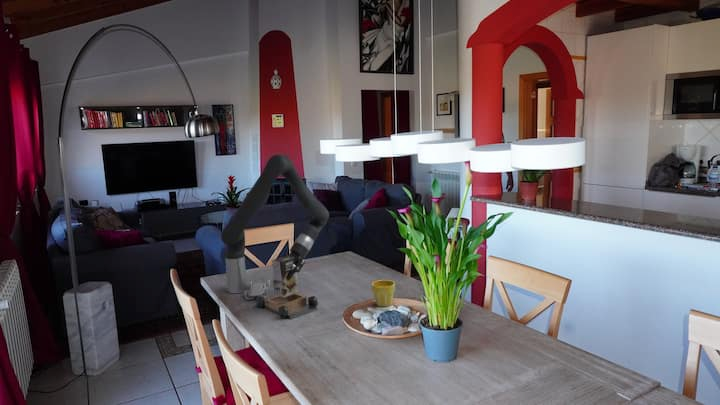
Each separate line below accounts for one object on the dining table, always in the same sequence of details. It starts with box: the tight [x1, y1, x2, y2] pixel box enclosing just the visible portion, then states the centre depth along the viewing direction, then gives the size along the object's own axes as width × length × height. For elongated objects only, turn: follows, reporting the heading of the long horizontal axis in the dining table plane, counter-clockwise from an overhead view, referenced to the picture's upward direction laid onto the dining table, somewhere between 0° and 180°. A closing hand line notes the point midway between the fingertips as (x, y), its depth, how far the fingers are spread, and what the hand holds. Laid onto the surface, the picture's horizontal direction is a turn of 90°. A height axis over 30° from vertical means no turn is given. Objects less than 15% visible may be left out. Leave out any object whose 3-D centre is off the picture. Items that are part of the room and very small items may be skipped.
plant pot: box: [371, 279, 396, 308], centre depth 222 cm, size 10×10×10 cm
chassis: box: [255, 292, 319, 320], centre depth 223 cm, size 26×17×5 cm, turn 43°
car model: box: [243, 279, 271, 301], centre depth 244 cm, size 11×24×5 cm, turn 5°
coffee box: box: [271, 256, 299, 298], centre depth 221 cm, size 9×6×16 cm
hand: (282, 277), depth 220 cm, fingers closed on coffee box, 7 cm apart
